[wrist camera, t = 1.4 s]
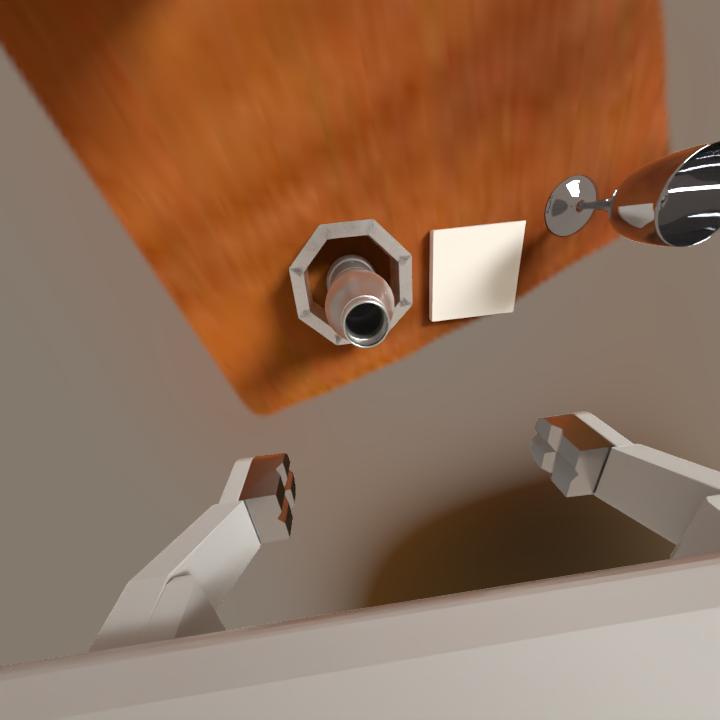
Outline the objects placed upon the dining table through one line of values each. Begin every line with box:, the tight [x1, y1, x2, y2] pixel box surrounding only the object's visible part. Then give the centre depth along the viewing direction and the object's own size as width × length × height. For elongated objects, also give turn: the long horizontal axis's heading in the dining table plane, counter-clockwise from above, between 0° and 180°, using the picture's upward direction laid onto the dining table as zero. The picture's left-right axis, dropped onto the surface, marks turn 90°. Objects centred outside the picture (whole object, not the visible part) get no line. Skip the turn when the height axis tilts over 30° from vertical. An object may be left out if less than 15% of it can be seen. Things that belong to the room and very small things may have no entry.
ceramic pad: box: [429, 221, 526, 322], centre depth 40 cm, size 12×12×2 cm
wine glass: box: [545, 141, 720, 247], centre depth 31 cm, size 8×8×15 cm
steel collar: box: [289, 219, 412, 345], centre depth 36 cm, size 14×14×6 cm
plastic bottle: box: [325, 254, 395, 348], centre depth 30 cm, size 6×7×20 cm
